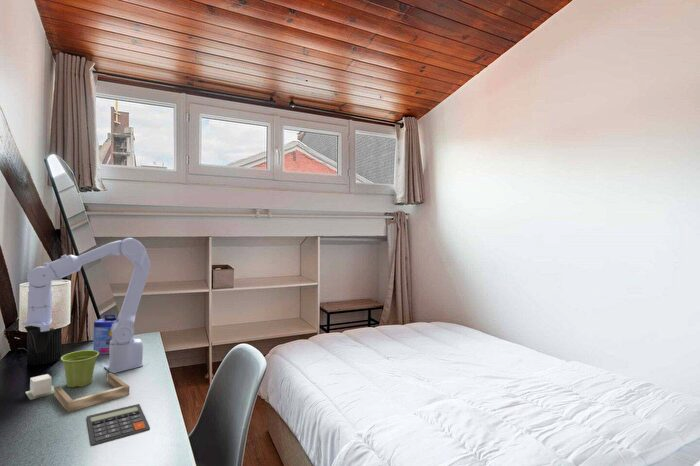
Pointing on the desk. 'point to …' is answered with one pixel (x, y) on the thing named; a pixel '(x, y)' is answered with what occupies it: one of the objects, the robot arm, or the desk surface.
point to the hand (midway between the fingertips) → (38, 350)
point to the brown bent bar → (83, 402)
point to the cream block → (40, 384)
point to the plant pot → (79, 367)
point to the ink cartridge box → (103, 334)
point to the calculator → (116, 424)
